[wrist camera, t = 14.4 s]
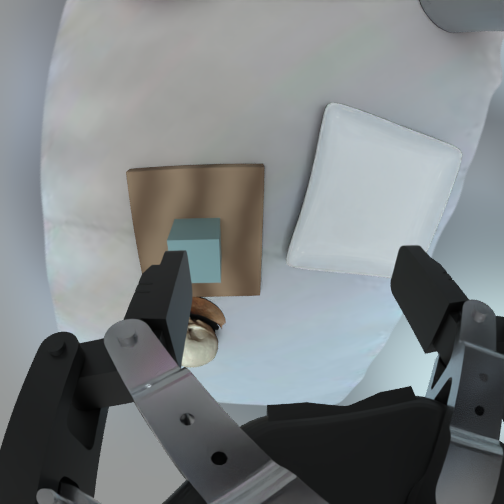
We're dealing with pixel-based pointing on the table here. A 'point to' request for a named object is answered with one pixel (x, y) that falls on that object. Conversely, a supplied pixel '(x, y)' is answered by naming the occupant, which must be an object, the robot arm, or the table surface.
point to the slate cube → (199, 247)
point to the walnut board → (203, 206)
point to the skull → (202, 333)
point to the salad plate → (370, 194)
